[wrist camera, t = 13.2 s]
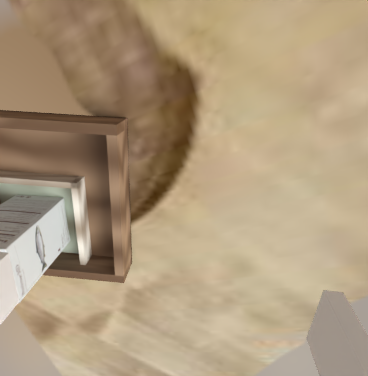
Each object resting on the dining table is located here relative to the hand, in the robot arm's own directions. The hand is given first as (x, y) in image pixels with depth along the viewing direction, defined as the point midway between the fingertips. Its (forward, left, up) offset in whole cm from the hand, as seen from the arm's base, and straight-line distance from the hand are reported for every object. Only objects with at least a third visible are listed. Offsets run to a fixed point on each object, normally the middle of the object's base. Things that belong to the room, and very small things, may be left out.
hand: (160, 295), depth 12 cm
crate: (+8, -18, -26) cm, 33 cm away
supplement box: (+12, -21, -25) cm, 35 cm away
